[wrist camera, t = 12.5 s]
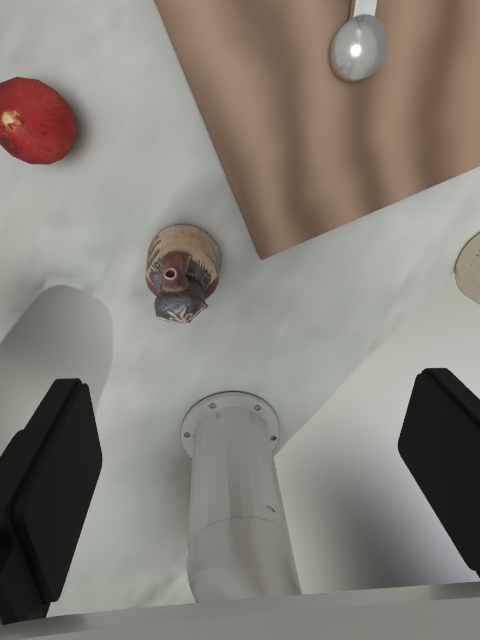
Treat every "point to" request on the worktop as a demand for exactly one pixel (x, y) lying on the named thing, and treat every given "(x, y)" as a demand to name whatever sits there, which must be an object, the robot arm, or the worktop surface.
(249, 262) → the worktop surface
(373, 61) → the dial lever
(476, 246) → the teacup with lid
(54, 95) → the onion
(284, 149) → the wooden cutting board
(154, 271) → the tan brown ceramic jug
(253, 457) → the robot arm
